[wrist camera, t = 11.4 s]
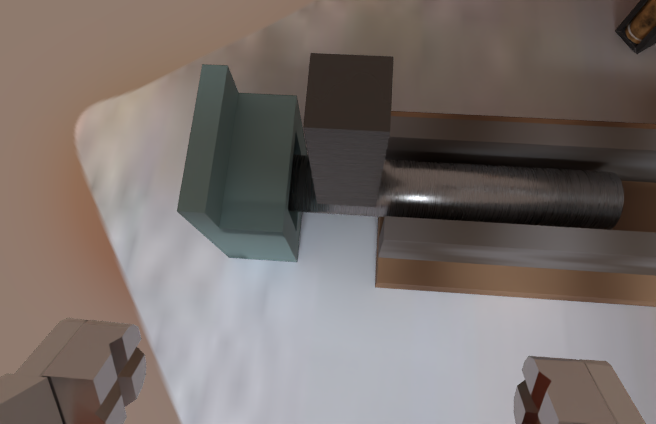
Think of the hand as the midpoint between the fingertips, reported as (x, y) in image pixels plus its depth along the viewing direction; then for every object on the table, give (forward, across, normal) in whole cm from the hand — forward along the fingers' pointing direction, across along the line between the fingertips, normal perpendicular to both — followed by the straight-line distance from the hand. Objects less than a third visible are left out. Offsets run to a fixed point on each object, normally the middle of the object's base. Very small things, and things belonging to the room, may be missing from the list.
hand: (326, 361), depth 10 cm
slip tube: (+13, -4, +3) cm, 14 cm away
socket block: (+15, +4, +4) cm, 16 cm away
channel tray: (+15, -13, +4) cm, 20 cm away
